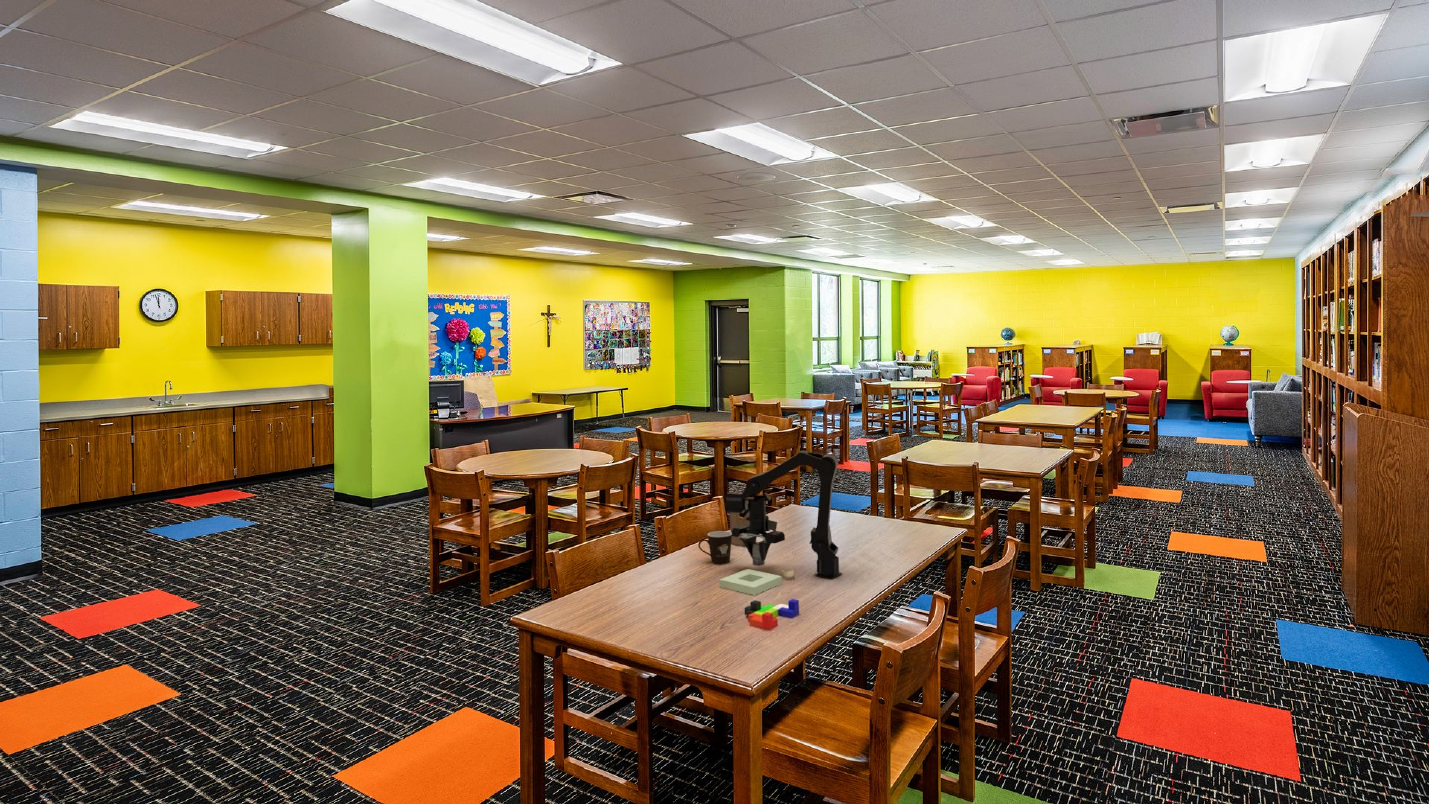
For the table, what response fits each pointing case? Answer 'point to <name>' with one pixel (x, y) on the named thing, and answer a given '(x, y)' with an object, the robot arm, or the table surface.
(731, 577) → the hole board
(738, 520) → the wooden block
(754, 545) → the long steel pin
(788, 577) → the short birch pin
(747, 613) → the building blocks
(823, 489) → the robot arm
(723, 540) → the coffee mug
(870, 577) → the table surface
